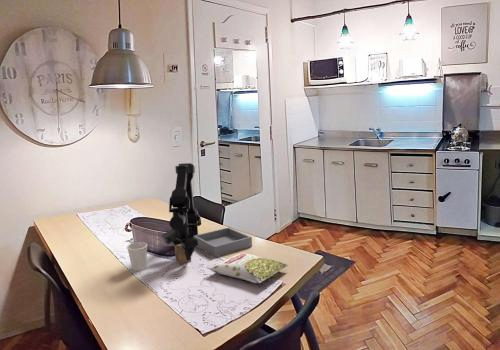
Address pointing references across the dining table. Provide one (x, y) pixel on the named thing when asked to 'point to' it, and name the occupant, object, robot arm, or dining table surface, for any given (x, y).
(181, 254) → the walnut block
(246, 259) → the frozen beans
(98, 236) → the dining table surface
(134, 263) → the dixie cup
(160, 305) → the dining table surface
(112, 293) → the dining table surface
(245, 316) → the dining table surface
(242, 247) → the grey bin
